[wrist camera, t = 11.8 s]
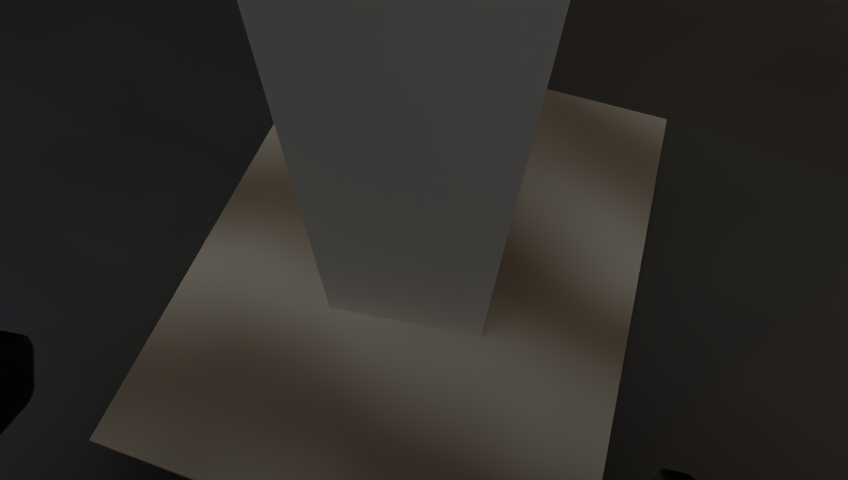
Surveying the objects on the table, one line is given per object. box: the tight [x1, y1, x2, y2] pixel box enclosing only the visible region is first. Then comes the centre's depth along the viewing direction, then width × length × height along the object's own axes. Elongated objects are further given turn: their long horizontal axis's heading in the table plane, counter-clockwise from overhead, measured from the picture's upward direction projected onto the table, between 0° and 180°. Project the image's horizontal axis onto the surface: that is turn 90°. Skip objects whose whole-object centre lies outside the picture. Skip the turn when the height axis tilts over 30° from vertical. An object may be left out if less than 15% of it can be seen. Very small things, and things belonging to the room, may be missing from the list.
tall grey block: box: [237, 0, 570, 337], centre depth 13 cm, size 4×4×13 cm
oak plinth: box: [90, 89, 667, 480], centre depth 20 cm, size 16×13×2 cm
